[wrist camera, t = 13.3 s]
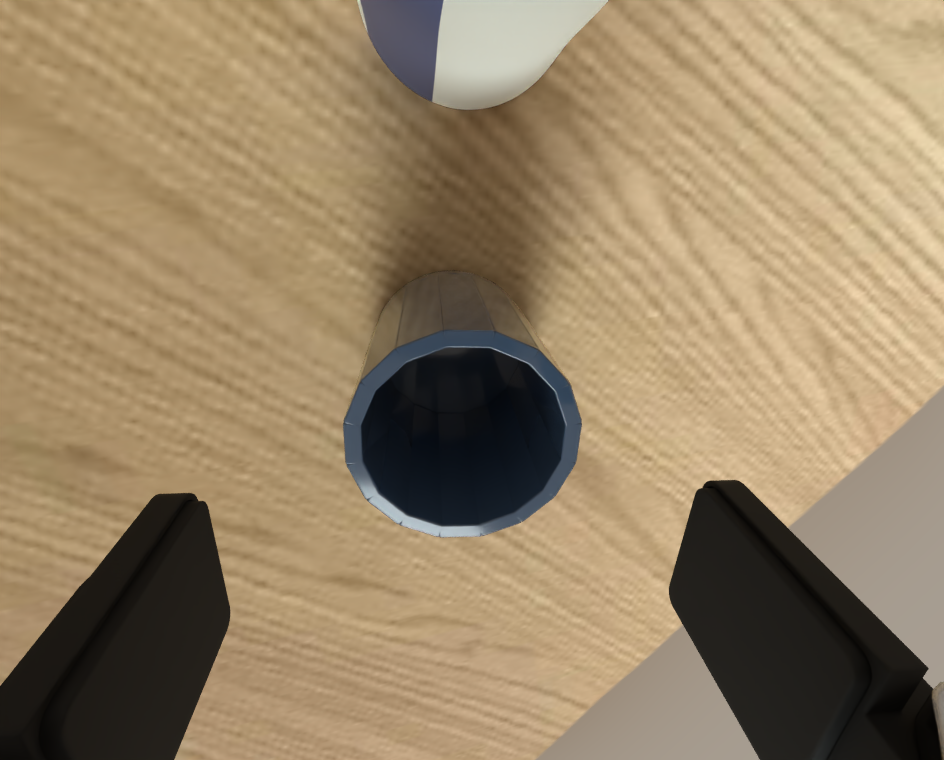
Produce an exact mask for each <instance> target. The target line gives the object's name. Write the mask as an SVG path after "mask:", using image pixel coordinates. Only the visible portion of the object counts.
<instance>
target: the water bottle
mask: <svg viewBox="0 0 944 760" xmlns="http://www.w3.org/2000/svg"><path fill="white" fill-rule="evenodd" d="M608 1H609V0H357V2H358V6H359V10H360V13H361V17H362V20H363V23H364V25H365V28H366V30H367V33H368V35H369V37H370V39H371V41H372V43H373V45H374V47H375V49H376V51H377V52H378V54H379V55H380V57H381V59H382V60H383V61H384V63H385V64H386V65H387V67H388V68H389V69H390V70H391V72H392V73H393V74H394V75H395V76H396V77H397V78H398V79H399V80H400V81H401V82H402V83H403V84H405V85H406V86H407V87H408V88H409V89H411V90H412V91H414V92H415V93H417V94H418V95H420V96H421V97H423V98H425V99H427V100H429V101H431V102H433V103H436V104H439V105H442V106H445V107H449V108H454V109H461V110H477V109H485V108H490V107H494V106H497V105H500V104H503V103H505V102H507V101H510V100H512V99H513V98H515V97H517V96H519V95H520V94H522V93H523V92H525V91H526V90H527V89H529V88H530V87H531V86H532V85H533V84H534V83H535V82H537V81H538V80H539V79H540V78H541V76H542V75H543V74H544V73H545V72H546V71H547V69H548V68H549V67H550V66H551V64H552V63H553V62H554V60H555V59H556V58H557V56H558V55H559V54H560V52H561V51H562V50H563V48H564V47H565V46H566V45H567V44H568V42H569V41H570V40H571V39H572V38H573V37H574V36H575V35H576V34H577V33H578V32H579V31H580V30H581V29H582V28H583V27H584V26H585V25H586V24H587V23H588V22H589V21H590V20H591V19H592V18H593V17H594V16H595V15H596V14H597V13H598V12H599V11H600V9H601V8H602V7H603V6H604V5H605V4H606V3H607V2H608Z"/></svg>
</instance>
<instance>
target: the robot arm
mask: <svg viewBox="0 0 944 760" xmlns="http://www.w3.org/2000/svg"><path fill="white" fill-rule="evenodd" d="M669 596H670V600H671V604H672V606H673V608H674V610H675V611H676V613H677V615H678V617H679V618H680V620H681V622H682V624H683V625H684V627H685V629H686V631H687V632H688V634H689V636H690V637H691V639H692V641H693V643H694V645H695V646H696V648H697V650H698V652H699V653H700V655H701V657H702V659H703V660H704V662H705V664H706V666H707V667H708V669H709V671H710V673H711V675H712V676H713V678H714V680H715V681H716V683H717V685H718V687H719V689H720V690H721V692H722V694H723V696H724V697H725V699H726V701H727V702H728V704H729V706H730V708H731V710H732V711H733V713H734V715H735V717H736V718H737V720H738V722H739V724H740V725H741V727H742V729H743V731H744V732H745V734H746V736H747V737H748V739H749V741H750V743H751V745H752V746H753V748H754V750H755V752H756V753H757V755H758V757H759V759H760V760H944V682H940V683H939V684H938V685H937V686H936V687H935V688H934V689H933V688H932V687H930V685H929V684H928V683H927V682H926V681H925V680H924V679H923V676H924V675H925V673H926V672H927V670H928V667H927V666H926V665H925V664H924V663H923V662H922V661H921V660H920V659H919V658H918V657H917V656H916V655H914V653H913V652H912V651H911V650H910V649H909V648H908V647H907V646H905V645H904V643H903V642H902V641H900V640H899V638H898V637H897V636H896V635H895V634H894V633H892V631H891V630H890V629H888V627H887V626H886V625H885V624H884V623H882V621H881V620H879V619H878V618H877V617H876V615H875V614H873V613H872V612H871V611H870V610H869V609H868V608H867V607H866V606H865V605H864V604H863V603H862V602H861V601H860V600H859V599H858V598H857V597H856V596H855V595H854V594H853V593H852V592H851V591H850V590H849V589H848V588H847V587H846V586H845V585H844V584H843V583H842V582H841V581H840V580H839V579H838V578H837V577H836V576H835V575H834V574H833V573H832V572H831V571H830V570H829V569H828V568H827V567H826V566H825V565H824V564H823V563H822V562H821V561H820V560H819V559H818V558H817V557H816V556H815V555H814V554H813V553H812V552H811V551H810V550H809V549H808V548H807V547H806V546H805V545H804V544H803V543H802V542H801V541H800V540H799V539H798V538H797V537H796V536H795V535H794V534H793V533H792V532H791V531H790V530H789V529H788V528H787V527H786V526H785V525H784V524H783V523H782V522H781V521H780V520H779V519H778V518H777V517H776V516H775V515H774V514H773V513H772V512H771V511H770V510H769V509H768V508H767V507H766V506H765V505H764V504H763V503H762V502H761V501H760V500H759V499H758V498H757V497H756V496H755V495H754V494H753V493H752V492H751V491H750V490H749V489H748V488H747V487H746V486H745V485H744V484H743V483H741V482H740V481H737V480H721V481H708V482H706V483H705V484H704V486H703V488H701V489H698V490H697V492H696V494H695V497H694V501H693V504H692V508H691V511H690V515H689V518H688V522H687V525H686V529H685V532H684V536H683V540H682V543H681V547H680V550H679V554H678V557H677V561H676V564H675V568H674V571H673V575H672V579H671V582H670V586H669ZM229 621H230V606H229V601H228V596H227V592H226V587H225V583H224V578H223V574H222V569H221V564H220V560H219V555H218V551H217V546H216V542H215V537H214V532H213V528H212V523H211V519H210V514H209V510H208V506H207V504H206V502H204V501H198V499H197V497H196V496H195V494H192V493H177V494H158V495H155V496H154V497H153V498H152V499H151V500H150V502H149V503H148V504H147V505H146V507H145V508H144V509H143V510H142V512H141V513H140V514H139V515H138V517H137V518H136V519H135V520H134V522H133V523H132V524H131V526H130V527H129V528H128V529H127V531H126V532H125V533H124V534H123V536H122V537H121V538H120V539H119V541H118V542H117V543H116V545H115V546H114V547H113V548H112V550H111V551H110V552H109V553H108V555H107V556H106V557H105V558H104V560H103V561H102V562H101V563H100V565H99V566H98V567H97V569H96V570H95V571H94V572H93V574H92V575H91V576H90V577H89V578H88V579H87V580H86V581H85V582H84V583H83V584H82V585H81V586H80V587H79V588H78V589H77V591H76V592H75V593H74V594H73V596H72V597H71V598H70V599H69V601H68V602H67V603H66V604H65V606H64V607H63V608H62V609H61V611H60V612H59V613H58V614H57V616H56V617H55V618H54V619H53V621H52V622H51V623H50V624H49V626H48V627H47V628H46V629H45V631H44V632H43V633H42V635H41V636H40V637H39V638H38V640H37V641H36V642H35V643H34V645H33V646H32V647H31V648H30V650H29V651H28V652H27V653H26V655H25V656H24V657H23V658H22V660H21V661H20V662H19V663H18V665H17V666H16V667H15V668H14V670H13V671H12V672H11V673H10V675H9V676H8V677H7V678H6V680H5V681H4V682H3V683H2V685H1V686H0V760H174V759H175V756H176V754H177V751H178V749H179V746H180V744H181V742H182V739H183V737H184V734H185V732H186V729H187V727H188V724H189V722H190V720H191V717H192V715H193V712H194V710H195V707H196V705H197V702H198V700H199V698H200V695H201V693H202V690H203V688H204V685H205V683H206V680H207V678H208V676H209V673H210V671H211V668H212V666H213V663H214V661H215V658H216V656H217V654H218V651H219V649H220V646H221V644H222V641H223V639H224V636H225V634H226V632H227V629H228V625H229Z"/></svg>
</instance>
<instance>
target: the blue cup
mask: <svg viewBox="0 0 944 760" xmlns="http://www.w3.org/2000/svg"><path fill="white" fill-rule="evenodd" d="M581 422H582V420H581V416H580V413H579V410H578V407H577V403H576V400H575V397H574V394H573V390H572V387H571V384H570V383H569V381H568V379H567V378H566V376H565V375H564V373H563V372H562V370H561V369H560V367H559V366H558V364H557V363H556V361H555V360H554V358H553V357H552V355H551V354H550V352H549V351H548V349H547V348H546V346H545V345H544V344H543V342H542V341H541V339H540V338H539V336H538V335H537V333H536V332H535V330H534V329H533V327H532V326H531V324H530V323H529V321H528V320H527V318H526V317H525V315H524V314H523V312H522V311H521V310H520V308H519V307H518V306H517V305H516V304H515V303H514V301H513V300H512V299H511V298H510V296H509V295H508V294H507V293H506V292H505V291H504V290H503V289H502V288H500V287H499V286H498V285H496V284H495V283H493V282H492V281H490V280H488V279H486V278H484V277H482V276H479V275H476V274H473V273H469V272H464V271H440V272H434V273H430V274H427V275H424V276H421V277H419V278H417V279H415V280H413V281H411V282H409V283H408V284H406V285H405V286H403V287H402V288H401V289H400V290H399V291H397V292H396V293H395V294H394V296H393V297H392V298H391V299H390V300H389V301H388V303H387V304H386V306H385V307H384V309H383V310H382V313H381V315H380V317H379V320H378V323H377V325H376V328H375V330H374V333H373V335H372V338H371V341H370V344H369V347H368V350H367V353H366V356H365V359H364V362H363V365H362V367H361V370H360V373H359V376H358V379H357V382H356V385H355V388H354V391H353V394H352V397H351V400H350V403H349V406H348V409H347V412H346V415H345V418H344V423H343V432H344V447H345V462H346V464H347V467H348V469H349V471H350V472H351V474H352V476H353V478H354V479H355V481H356V483H357V485H358V487H359V488H360V490H361V492H362V494H363V495H364V497H365V499H367V501H368V502H369V503H371V504H372V505H373V506H375V507H376V508H377V509H379V510H380V511H381V512H382V513H384V514H385V515H386V516H388V517H389V518H390V519H392V520H393V521H394V522H396V523H397V524H400V525H401V526H404V527H407V528H410V529H413V530H417V531H420V532H423V533H426V534H430V535H433V536H436V537H480V536H481V535H482V536H484V535H487V534H490V533H493V532H496V531H499V530H502V529H505V528H507V527H510V526H513V525H516V524H519V523H521V522H523V521H524V520H526V519H527V518H528V517H530V516H531V515H532V514H533V513H535V512H536V511H537V510H539V509H540V508H541V507H543V506H544V505H545V504H546V503H548V502H549V501H550V500H552V499H553V498H554V497H555V496H556V494H557V493H558V491H559V490H560V488H561V486H562V485H563V483H564V482H565V480H566V478H567V477H568V475H569V474H570V472H571V470H572V469H573V467H574V465H575V464H576V460H577V454H578V447H579V440H580V433H581V427H582V423H581Z"/></svg>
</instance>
